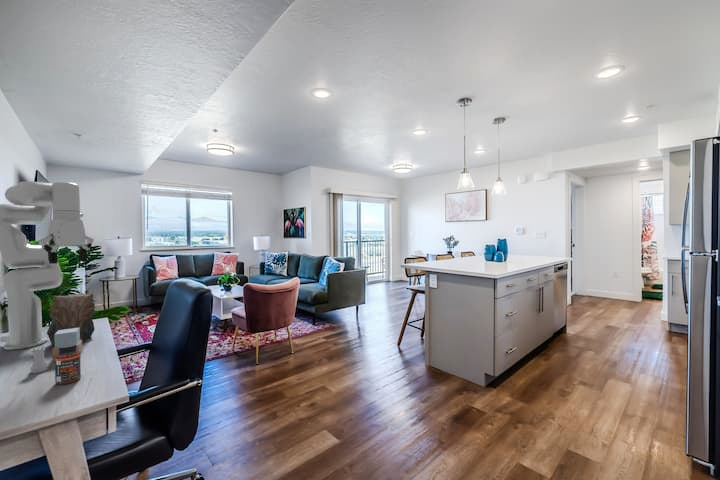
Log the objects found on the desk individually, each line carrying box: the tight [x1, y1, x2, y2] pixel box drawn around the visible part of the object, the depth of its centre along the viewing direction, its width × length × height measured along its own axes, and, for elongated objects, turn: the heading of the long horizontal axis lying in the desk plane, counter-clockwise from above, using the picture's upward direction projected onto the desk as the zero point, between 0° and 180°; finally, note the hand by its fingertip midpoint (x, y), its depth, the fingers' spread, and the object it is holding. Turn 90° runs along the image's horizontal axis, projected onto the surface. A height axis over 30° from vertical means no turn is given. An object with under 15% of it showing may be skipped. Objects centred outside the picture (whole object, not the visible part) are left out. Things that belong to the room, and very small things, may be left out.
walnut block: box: [52, 340, 83, 363], centre depth 119 cm, size 7×7×5 cm
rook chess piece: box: [29, 345, 50, 374], centre depth 107 cm, size 4×4×8 cm
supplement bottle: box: [54, 343, 82, 386], centre depth 99 cm, size 6×6×11 cm
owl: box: [46, 292, 96, 347], centre depth 136 cm, size 13×13×20 cm
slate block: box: [54, 328, 80, 348], centre depth 119 cm, size 6×6×5 cm
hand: (68, 262), depth 118 cm, fingers open, 9 cm apart
